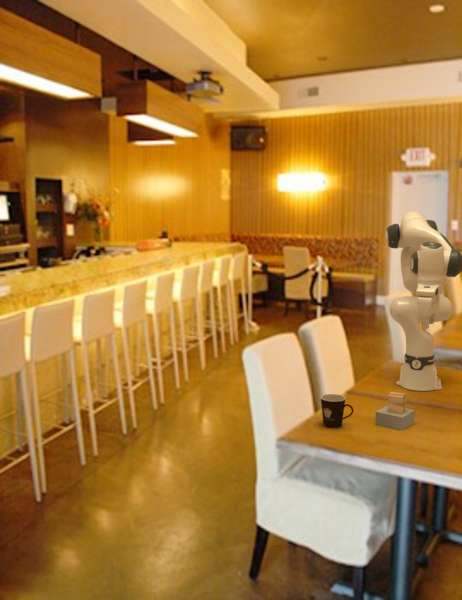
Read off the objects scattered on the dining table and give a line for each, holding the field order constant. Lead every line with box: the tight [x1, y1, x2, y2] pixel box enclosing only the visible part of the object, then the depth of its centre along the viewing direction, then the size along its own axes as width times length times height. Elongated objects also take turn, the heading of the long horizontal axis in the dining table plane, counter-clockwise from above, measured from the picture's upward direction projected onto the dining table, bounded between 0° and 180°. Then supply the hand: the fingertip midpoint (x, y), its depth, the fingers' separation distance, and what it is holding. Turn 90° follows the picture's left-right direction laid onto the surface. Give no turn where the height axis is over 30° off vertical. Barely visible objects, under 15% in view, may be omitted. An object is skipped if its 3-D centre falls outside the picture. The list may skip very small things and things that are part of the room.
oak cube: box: [387, 391, 406, 414], centre depth 212 cm, size 5×5×6 cm
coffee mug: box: [320, 393, 354, 429], centre depth 210 cm, size 12×9×10 cm
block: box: [374, 404, 416, 432], centre depth 213 cm, size 10×10×5 cm
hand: (428, 326), depth 217 cm, fingers open, 8 cm apart
